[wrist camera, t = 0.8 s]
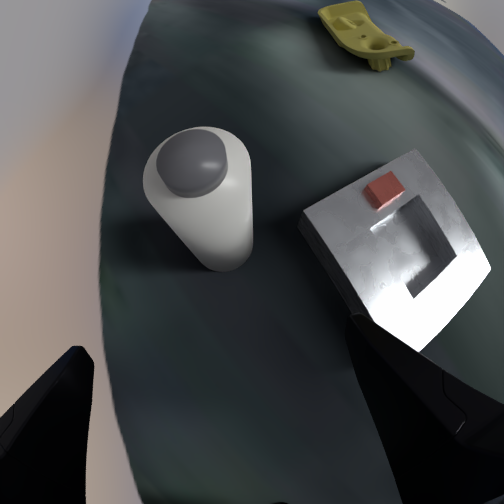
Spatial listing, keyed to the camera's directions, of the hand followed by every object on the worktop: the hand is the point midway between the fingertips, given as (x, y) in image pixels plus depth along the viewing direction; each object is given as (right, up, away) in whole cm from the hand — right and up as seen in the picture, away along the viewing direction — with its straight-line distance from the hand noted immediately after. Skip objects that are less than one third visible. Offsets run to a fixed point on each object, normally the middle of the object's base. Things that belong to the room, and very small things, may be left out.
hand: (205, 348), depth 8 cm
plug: (-1, +4, +15) cm, 15 cm away
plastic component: (+19, +35, +23) cm, 46 cm away
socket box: (+15, +3, +14) cm, 21 cm away
